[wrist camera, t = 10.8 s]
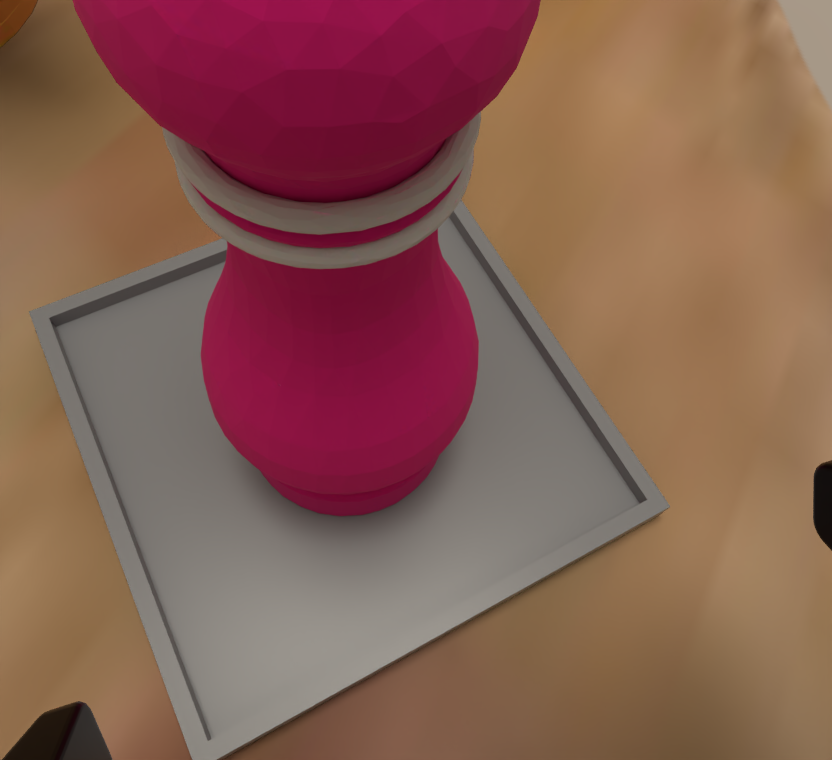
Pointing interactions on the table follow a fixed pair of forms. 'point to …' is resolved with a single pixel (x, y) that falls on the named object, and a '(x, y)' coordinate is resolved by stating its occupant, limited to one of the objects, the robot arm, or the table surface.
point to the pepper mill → (326, 217)
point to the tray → (313, 532)
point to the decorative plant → (13, 17)
